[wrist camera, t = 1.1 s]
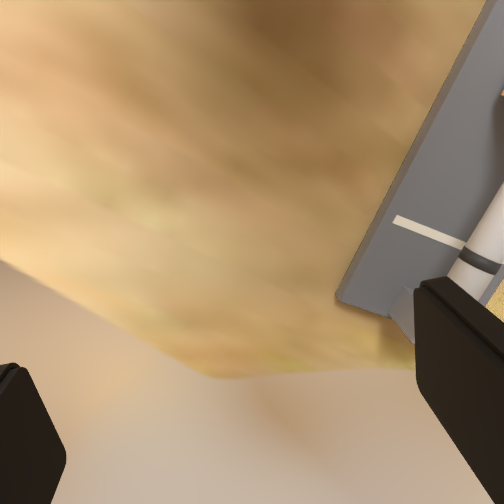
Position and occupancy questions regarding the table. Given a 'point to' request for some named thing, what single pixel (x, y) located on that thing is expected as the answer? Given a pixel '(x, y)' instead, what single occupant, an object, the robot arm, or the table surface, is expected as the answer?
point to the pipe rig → (443, 192)
